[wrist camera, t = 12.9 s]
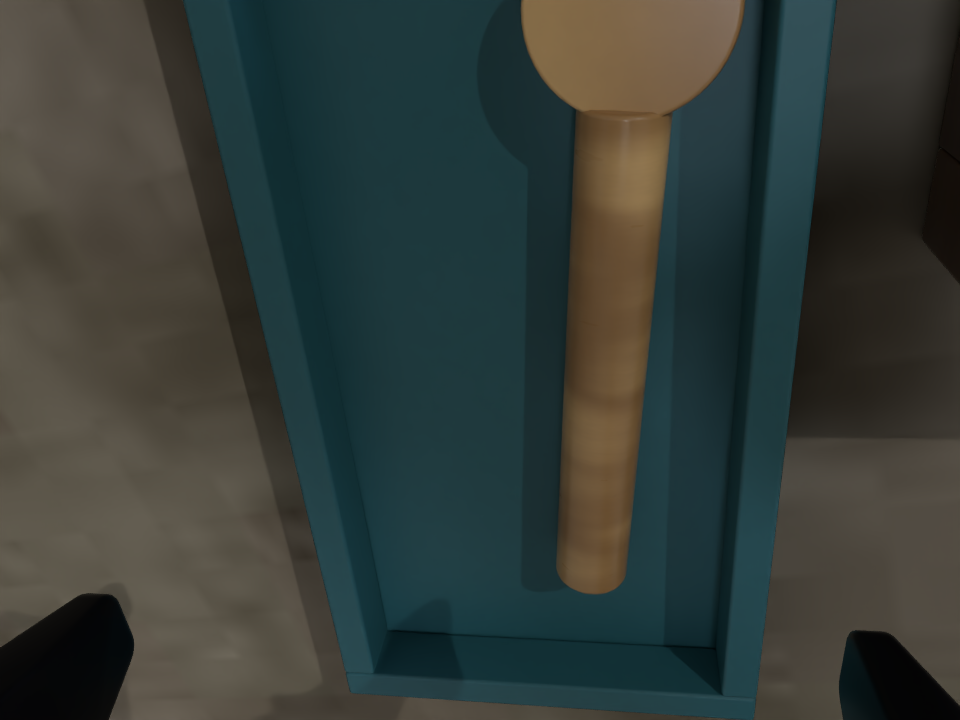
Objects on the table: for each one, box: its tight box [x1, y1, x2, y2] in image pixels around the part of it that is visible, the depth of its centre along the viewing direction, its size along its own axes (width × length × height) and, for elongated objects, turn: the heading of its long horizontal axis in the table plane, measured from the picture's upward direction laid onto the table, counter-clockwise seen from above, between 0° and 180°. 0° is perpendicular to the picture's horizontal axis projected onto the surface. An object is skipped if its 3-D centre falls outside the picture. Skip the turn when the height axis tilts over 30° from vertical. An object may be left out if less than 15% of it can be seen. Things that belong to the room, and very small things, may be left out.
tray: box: [183, 0, 837, 720], centre depth 17 cm, size 20×10×2 cm, turn 5°
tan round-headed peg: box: [521, 0, 745, 594], centre depth 16 cm, size 3×2×14 cm
